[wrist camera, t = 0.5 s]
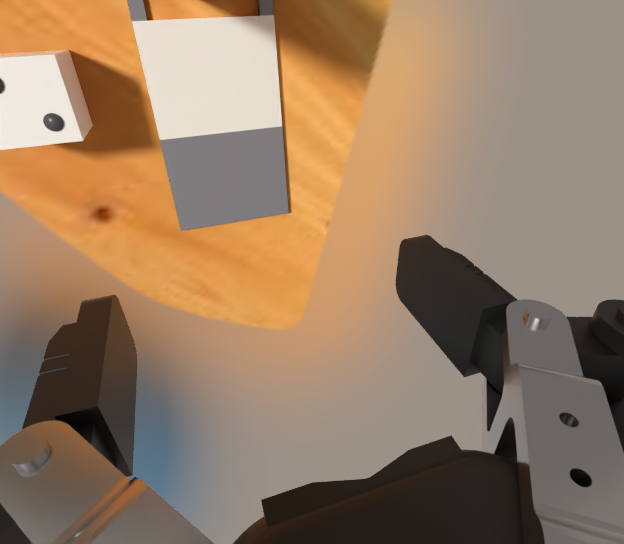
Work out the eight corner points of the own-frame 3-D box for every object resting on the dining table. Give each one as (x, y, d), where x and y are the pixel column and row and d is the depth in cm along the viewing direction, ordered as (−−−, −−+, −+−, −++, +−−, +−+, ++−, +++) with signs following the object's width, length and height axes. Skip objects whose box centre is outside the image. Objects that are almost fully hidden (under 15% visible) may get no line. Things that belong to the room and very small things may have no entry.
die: (-14, 54, 27) (-46, 60, 23) (69, 49, 28) (54, 54, 24) (18, 132, 29) (-5, 150, 25) (92, 125, 31) (83, 141, 26)
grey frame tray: (89, -164, 23) (88, -166, 23) (260, -153, 26) (261, -155, 25) (180, 228, 37) (181, 230, 36) (287, 211, 39) (288, 212, 39)
